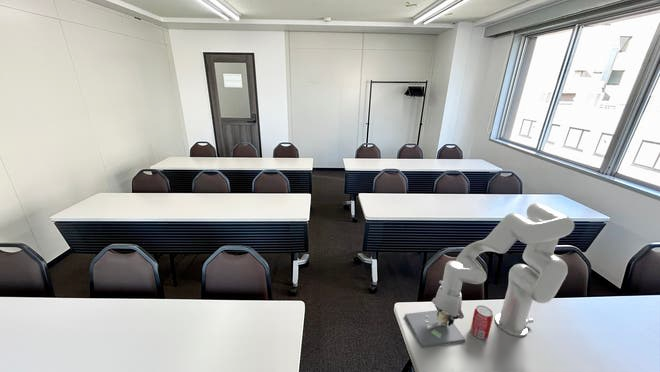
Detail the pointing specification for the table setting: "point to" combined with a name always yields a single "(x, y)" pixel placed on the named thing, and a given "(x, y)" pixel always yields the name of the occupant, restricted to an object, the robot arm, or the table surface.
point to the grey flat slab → (432, 330)
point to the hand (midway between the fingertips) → (444, 320)
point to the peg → (442, 319)
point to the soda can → (481, 322)
